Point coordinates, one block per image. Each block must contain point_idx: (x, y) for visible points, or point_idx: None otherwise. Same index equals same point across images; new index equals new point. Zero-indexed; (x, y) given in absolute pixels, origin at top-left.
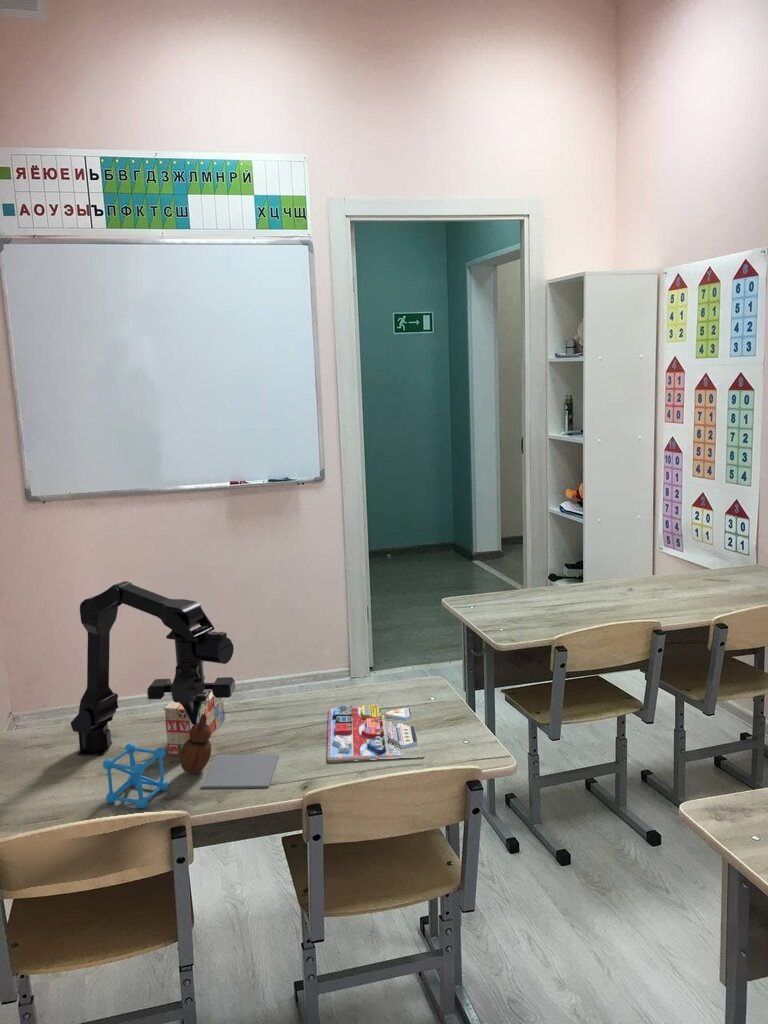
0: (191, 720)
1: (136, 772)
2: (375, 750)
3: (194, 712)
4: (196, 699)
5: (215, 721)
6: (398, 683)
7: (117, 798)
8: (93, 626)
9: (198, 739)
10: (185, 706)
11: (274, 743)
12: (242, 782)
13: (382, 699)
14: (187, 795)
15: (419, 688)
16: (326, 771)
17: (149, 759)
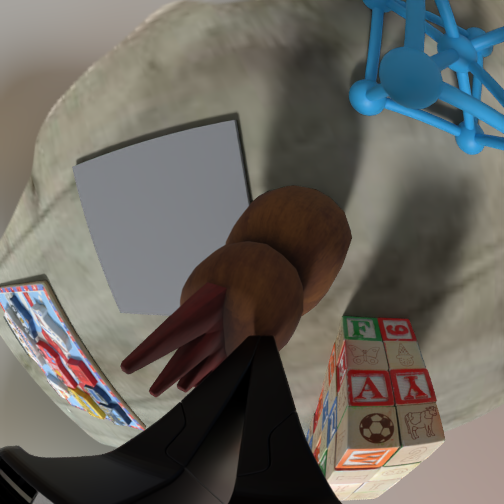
0: (268, 353)
1: None
2: (17, 303)
3: (213, 404)
4: (49, 498)
5: (313, 428)
6: (117, 446)
7: (459, 27)
8: None
9: (230, 245)
10: (287, 470)
11: (161, 359)
12: (125, 166)
13: (107, 426)
14: (263, 71)
15: (92, 431)
16: (34, 248)
17: None
